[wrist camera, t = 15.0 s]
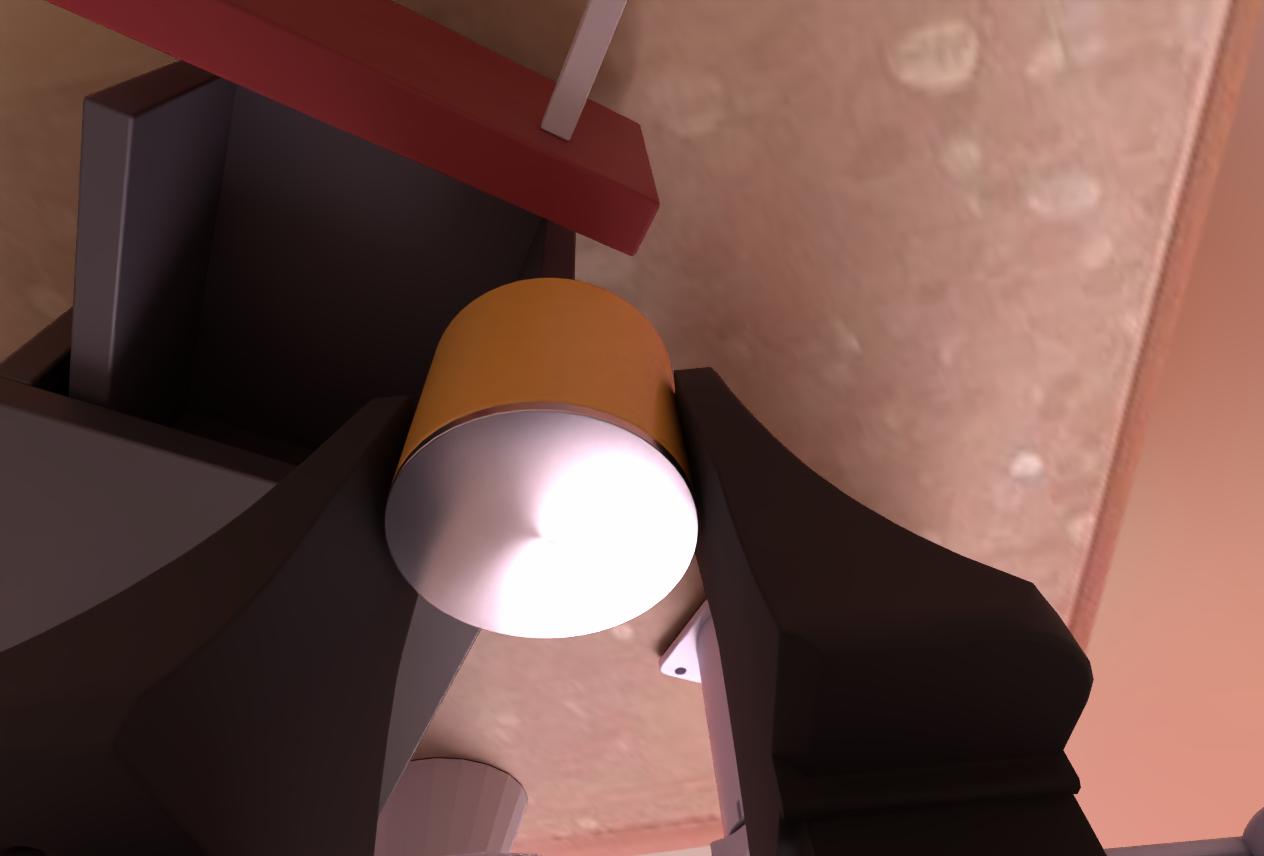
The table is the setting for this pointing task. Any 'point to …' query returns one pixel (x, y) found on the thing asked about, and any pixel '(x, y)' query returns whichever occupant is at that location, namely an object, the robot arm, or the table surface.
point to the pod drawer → (323, 206)
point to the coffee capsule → (545, 466)
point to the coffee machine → (147, 520)
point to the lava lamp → (450, 810)
